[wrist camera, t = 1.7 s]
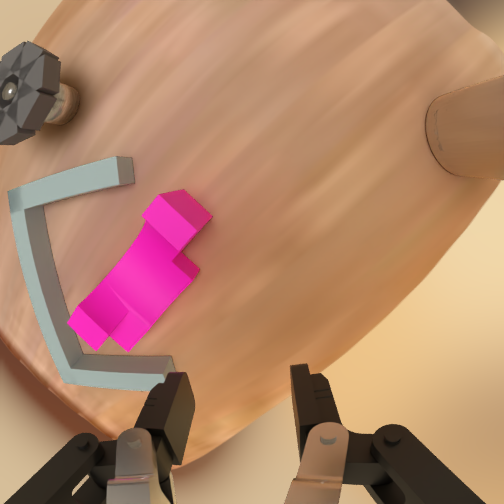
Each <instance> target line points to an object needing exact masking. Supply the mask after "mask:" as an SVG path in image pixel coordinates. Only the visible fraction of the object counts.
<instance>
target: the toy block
mask: <svg viewBox="0 0 504 504" xmlns="http://www.w3.org/2000/svg"><path fill="white" fill-rule="evenodd" d="M142 217H143V218H144V219H145V220H146V221H145V224H144V226H143V228H142V230H141V232H140V234H139V235H138V237H137V238H136V240H135V241H134V243H133V244H132V245H131V247H130V248H129V249H128V251H127V252H126V253H125V255H124V256H123V257H122V258H121V260H120V261H119V262H118V263H117V265H116V266H115V267H114V268H113V269H112V270H111V272H110V273H109V274H108V275H107V276H106V277H105V278H104V280H103V281H102V282H101V283H100V284H99V285H98V286H97V287H96V288H95V289H94V290H93V291H92V292H91V293H90V294H89V295H88V296H87V297H86V298H85V299H84V300H83V301H82V302H81V303H80V304H79V305H78V306H77V308H76V309H75V311H74V312H73V314H72V316H71V317H70V319H69V320H68V322H67V324H68V325H69V326H70V327H71V328H72V329H73V330H74V331H75V332H76V333H77V334H78V335H79V336H80V337H81V338H82V339H84V340H85V341H86V342H87V343H88V344H89V345H90V346H91V347H92V348H93V349H94V350H95V351H97V350H98V349H99V347H100V346H101V345H102V344H103V343H104V341H105V340H106V339H107V338H108V337H109V336H110V337H111V338H112V339H113V340H115V341H116V342H117V343H118V344H119V345H120V346H121V347H123V348H124V349H125V350H126V351H127V352H129V351H130V350H131V349H132V348H133V347H134V345H135V344H136V343H137V342H138V341H139V340H140V339H141V338H142V337H143V336H144V334H145V333H146V332H147V331H148V330H149V329H150V328H151V327H152V325H153V324H154V323H155V322H156V320H157V319H158V318H159V317H160V316H161V315H162V313H163V312H164V311H165V310H166V309H167V308H168V306H169V305H170V304H171V303H172V302H173V301H174V300H175V299H176V298H177V297H178V295H179V294H180V293H181V292H182V291H183V290H184V289H185V288H186V287H187V286H188V285H189V284H190V283H191V282H192V281H193V280H194V278H195V277H196V275H197V273H198V272H199V270H200V269H199V268H198V267H197V266H196V265H195V264H194V263H193V262H191V261H190V260H189V259H188V258H187V257H186V256H185V255H184V254H183V253H182V252H181V251H182V250H183V249H184V248H185V247H186V245H187V244H188V243H189V242H190V241H191V240H192V239H193V238H194V237H195V235H196V234H197V233H198V232H199V231H200V230H201V229H202V228H203V227H204V226H205V224H206V223H207V222H208V221H209V220H210V219H211V218H212V217H213V216H212V215H211V214H210V213H209V212H207V211H206V210H205V209H204V208H203V207H202V206H201V205H200V204H199V203H198V202H197V201H196V200H195V199H193V198H192V197H191V196H190V195H189V194H188V193H187V192H186V191H185V190H184V189H183V190H178V191H173V192H168V193H163V194H159V195H158V196H157V197H156V198H155V199H154V201H153V202H152V203H151V204H150V206H149V207H148V208H147V209H146V211H145V212H144V213H143V214H142Z"/></svg>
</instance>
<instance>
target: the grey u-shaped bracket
mask: <svg viewBox="0 0 504 504" xmlns="http://www.w3.org/2000/svg"><path fill="white" fill-rule="evenodd" d="M132 183H135V180H134V172H133V163H132V158H128V157H119V156H115V157H111V158H107V159H104V160H100V161H96V162H93V163H89V164H86V165H82V166H79V167H76V168H72V169H69V170H66V171H63V172H60V173H57V174H54V175H51V176H48V177H45V178H42V179H39V180H36V181H33V182H31V183H28V184H25V185H23V186H20V187H17V188H15V189H12V190H10V191H8V199H9V206H10V213H11V219H12V225H13V231H14V236H15V241H16V246H17V251H18V255H19V259H20V263H21V267H22V271H23V275H24V279H25V282H26V286H27V289H28V293H29V296H30V299H31V302H32V305H33V309H34V312H35V314H36V317H37V320H38V323H39V326H40V328H41V331H42V334H43V336H44V339H45V341H46V344H47V346H48V349H49V351H50V354H51V356H52V358H53V360H54V363H55V365H56V367H57V369H58V372H59V374H60V376H61V378H62V380H63V382H64V383H68V384H75V385H82V386H90V387H99V388H110V389H121V390H136V391H151V389H152V388H153V387H154V386H156V385H157V384H158V383H164V381H165V379H166V377H167V374H168V373H169V372H176V371H175V367H174V364H173V361H172V357H171V356H114V355H91V354H83V352H82V350H81V347H80V344H79V342H78V339H77V336H76V334H75V331H74V330H73V329H72V328H71V327H70V326H69V325H68V324H67V322H68V320H69V319H70V316H69V313H68V310H67V307H66V304H65V301H64V297H63V294H62V290H61V287H60V283H59V280H58V276H57V272H56V268H55V264H54V260H53V256H52V251H51V246H50V242H49V237H48V232H47V226H46V221H45V215H44V208H43V205H45V204H49V203H53V202H56V201H60V200H64V199H67V198H71V197H75V196H79V195H83V194H87V193H92V192H96V191H100V190H104V189H109V188H113V187H118V186H123V185H127V184H132Z"/></svg>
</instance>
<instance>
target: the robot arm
mask: <svg viewBox="0 0 504 504" xmlns="http://www.w3.org/2000/svg"><path fill="white" fill-rule="evenodd" d="M426 133H427V138H428V142H429V145H430V148H431V150H432V152H433V154H434V156H435V158H436V159H437V161H438V162H439V163H440V165H441V166H442V167H444V168H445V169H446V170H447V171H448V172H450V173H452V174H454V175H457V176H465V177H478V178H487V179H497V180H504V75H503V76H499V77H496V78H493V79H490V80H486V81H483V82H480V83H477V84H474V85H471V86H468V87H465V88H462V89H459V90H456V91H453V92H450V93H448V94H445V95H442V96H440V97H438V98H437V99H435V100H434V101H433V102H432V104H431V106H430V107H429V110H428V113H427V117H426ZM290 375H291V392H292V403H293V410H294V418H295V426H296V433H297V441H298V449H299V457H300V466H299V469H298V473H297V476H296V478H294V479H293V480H292V482H291V485H290V488H289V491H288V494H287V497H286V500H285V503H284V504H338V503H339V498H340V492H341V487H342V484H353V485H363V486H364V487H365V488H366V490H367V491H368V492H369V494H370V495H371V497H372V498H373V499H374V500H375V502H376V503H377V504H486V503H485V502H483V501H482V500H481V499H480V498H479V497H478V496H477V495H476V494H475V493H474V492H473V491H472V490H471V489H470V488H469V487H467V486H466V485H465V484H464V483H463V482H462V481H461V480H460V479H459V478H458V477H457V476H456V475H455V474H454V473H453V472H451V470H449V469H448V468H447V467H446V466H445V465H444V464H443V463H442V462H441V461H440V460H439V459H438V458H437V457H436V456H435V455H434V454H433V453H432V452H430V450H429V449H428V448H426V447H425V446H424V445H423V444H422V443H421V442H420V441H419V440H418V439H417V438H416V437H415V436H414V435H413V434H412V433H411V432H410V431H409V430H408V429H407V428H405V427H404V426H401V425H397V424H389V425H385V426H382V427H381V428H379V429H378V430H377V431H376V432H375V433H374V434H359V433H354V432H351V431H349V430H347V429H346V428H345V427H344V426H343V425H342V423H341V420H340V417H339V414H338V411H337V407H336V404H335V401H334V398H333V395H332V392H331V388H330V385H329V381H328V379H326V378H325V377H324V376H323V375H322V374H321V373H318V374H311V375H310V372H309V368H308V364H307V363H306V364H298V365H290ZM194 411H195V399H194V395H193V392H192V389H191V385H190V382H189V379H188V375H187V373H186V372H169V373H168V374H167V377H166V379H165V381H164V383H158V384H157V385H156V386H154V387H153V388H152V389H151V391H150V393H149V395H148V397H147V399H146V401H145V404H144V406H143V408H142V410H141V412H140V415H139V417H138V419H137V421H136V424H135V426H134V428H131V429H128V430H126V431H124V432H123V433H121V434H120V436H119V437H118V439H117V440H113V441H103V442H99V440H98V439H97V437H96V436H95V435H93V434H91V433H81V434H78V435H76V436H74V437H73V438H72V439H71V440H70V441H69V442H68V443H67V444H66V445H65V446H64V447H63V448H62V449H61V450H60V451H59V452H57V453H56V454H55V455H54V456H53V457H52V458H51V459H50V460H49V461H48V462H47V463H46V464H45V465H44V466H43V467H42V468H41V469H40V470H39V471H38V472H37V473H36V474H35V475H33V476H32V477H31V479H29V480H28V481H27V482H26V483H25V484H24V485H23V486H22V487H21V488H20V489H19V490H18V491H17V492H16V493H15V494H14V495H12V496H11V497H10V498H9V499H8V500H7V501H6V502H5V503H4V504H177V502H176V495H175V489H174V483H173V476H172V473H171V472H170V471H171V467H172V465H181V464H182V460H183V455H184V451H185V447H186V443H187V439H188V435H189V431H190V427H191V423H192V419H193V415H194ZM87 474H88V475H89V478H88V479H87V481H86V482H85V483H84V484H83V485H82V486H81V487H80V488H79V489H78V490H77V492H76V493H75V494H74V495H73V496H72V491H73V489H74V488H75V487H76V486H77V485H78V483H79V482H80V481H81V480H82V479H83V478H84V477H85V476H86V475H87Z"/></svg>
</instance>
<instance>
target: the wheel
mask: <svg viewBox="0 0 504 504" xmlns="http://www.w3.org/2000/svg"><path fill="white" fill-rule="evenodd" d="M58 59H59V57H57V56H55V55H54V54H52V53H50V52H49V51H47V50H46V49H44V48H42V47H40V46H38V45H36V44H34V43H31V42H29V41H27V43H26V42H22V43H21V44H19V45H18V46H16V47H15V48H13V49H12V50H11V51H9V52H8V53H6V54H5V55H3V56H2V61H0V145H15V144H17V143H19V142H21V141H23V140H25V139H28V138H30V137H32V136H34V135H35V130H39V131H40V129H41V127H42V125H43V123H44V121H45V119H46V118H47V116H48V114H49V112H50V111H51V109H52V107H53V105H54V104H55V102H56V100H57V98H55V97H54V96H53V95H55V94H57V93H59V90H60V66H61V62H60V61H58ZM9 82H12V83H15V84H18V91H17V93H16V95H15V97H14V99H13V101H8V100H4V99H3V98H2V92H3V89H4V87H5V86H6V85H7V84H8V83H9Z"/></svg>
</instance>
